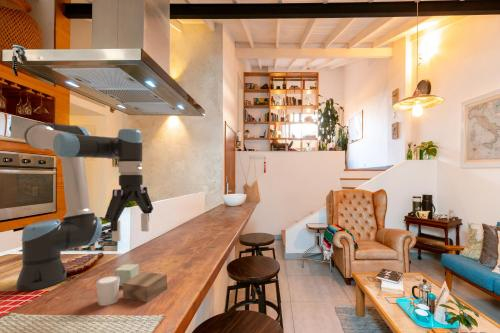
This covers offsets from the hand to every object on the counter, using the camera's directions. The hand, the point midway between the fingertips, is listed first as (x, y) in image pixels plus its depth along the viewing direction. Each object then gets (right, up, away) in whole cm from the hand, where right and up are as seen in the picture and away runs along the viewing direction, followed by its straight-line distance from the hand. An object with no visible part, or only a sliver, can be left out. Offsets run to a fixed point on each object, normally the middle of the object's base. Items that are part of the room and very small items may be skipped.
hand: (131, 235), depth 91 cm
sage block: (-6, -20, +9) cm, 23 cm away
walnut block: (+5, -20, 0) cm, 20 cm away
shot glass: (-5, -20, -5) cm, 21 cm away
